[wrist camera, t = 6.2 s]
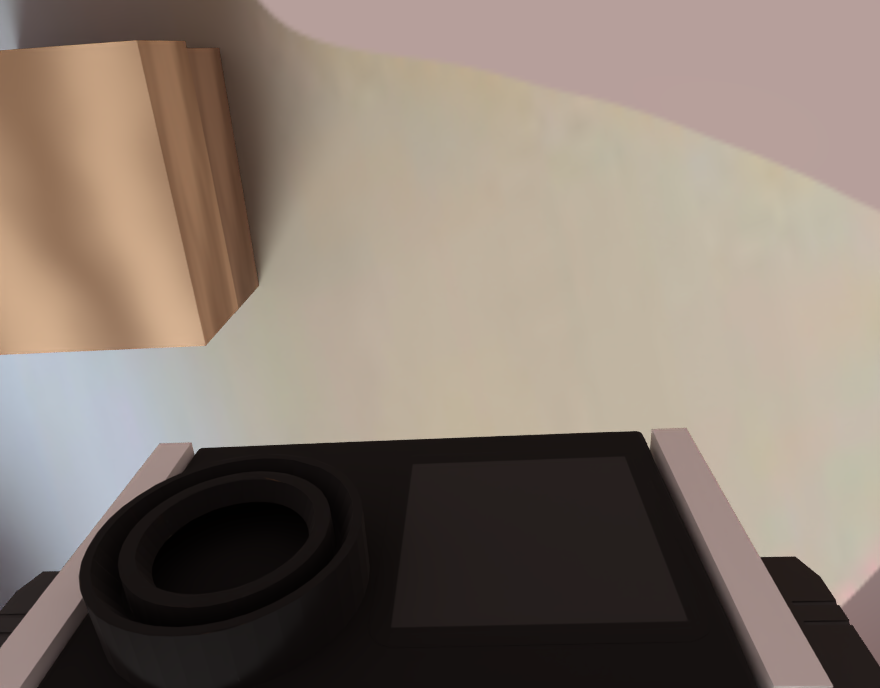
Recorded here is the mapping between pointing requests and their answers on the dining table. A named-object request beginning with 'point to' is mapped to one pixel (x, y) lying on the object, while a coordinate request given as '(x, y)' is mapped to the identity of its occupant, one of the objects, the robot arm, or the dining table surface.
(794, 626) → the robot arm
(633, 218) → the dining table surface
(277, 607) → the digital camera
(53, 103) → the tower top
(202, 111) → the tower base
